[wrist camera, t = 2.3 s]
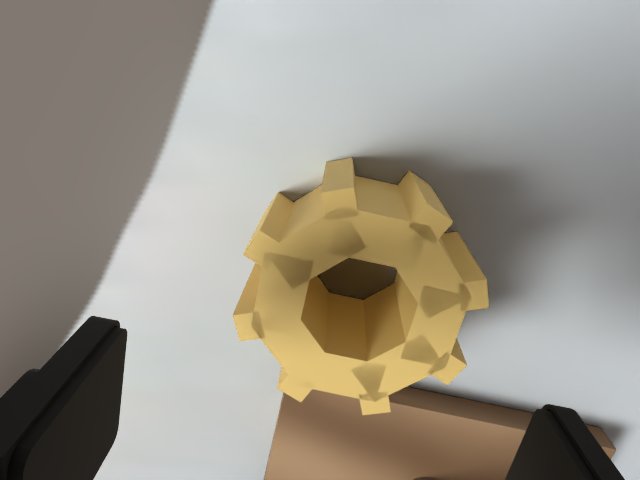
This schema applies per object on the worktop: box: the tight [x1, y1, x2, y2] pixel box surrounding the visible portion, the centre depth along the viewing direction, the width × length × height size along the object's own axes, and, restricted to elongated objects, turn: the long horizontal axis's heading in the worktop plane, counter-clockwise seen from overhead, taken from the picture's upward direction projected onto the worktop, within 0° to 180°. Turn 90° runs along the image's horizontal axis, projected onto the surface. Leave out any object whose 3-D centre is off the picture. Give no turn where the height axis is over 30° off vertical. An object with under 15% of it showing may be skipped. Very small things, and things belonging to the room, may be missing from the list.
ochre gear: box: [233, 158, 489, 415], centre depth 16 cm, size 7×7×4 cm
